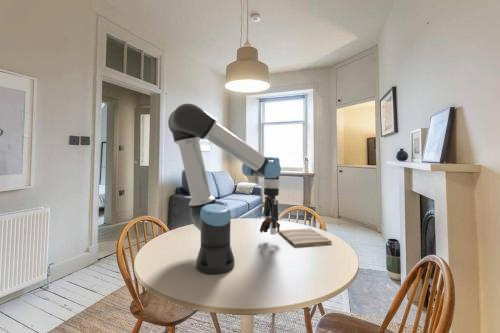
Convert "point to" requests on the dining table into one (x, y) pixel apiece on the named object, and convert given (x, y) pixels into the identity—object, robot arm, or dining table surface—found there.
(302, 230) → the walnut board
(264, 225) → the brown arched figurine
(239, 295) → the dining table surface
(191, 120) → the robot arm
